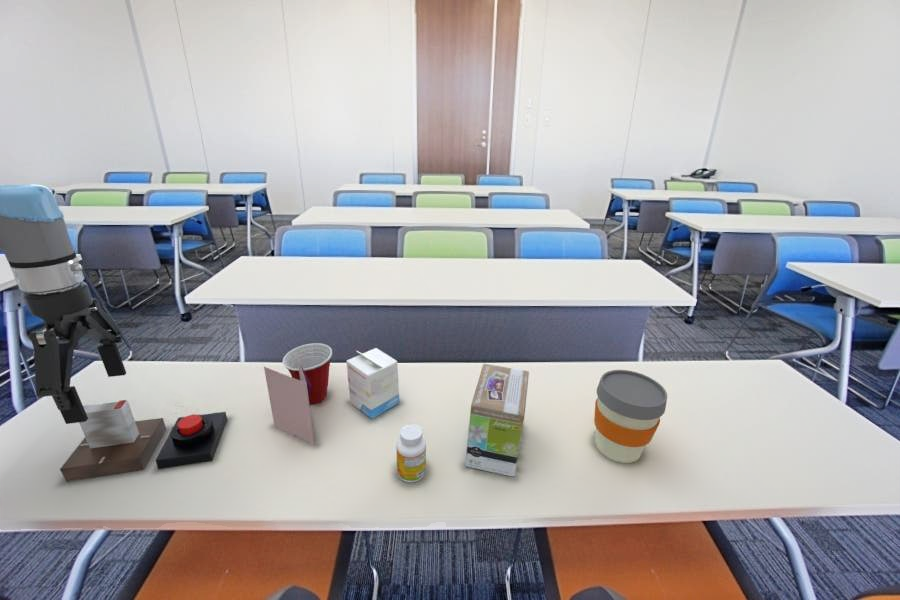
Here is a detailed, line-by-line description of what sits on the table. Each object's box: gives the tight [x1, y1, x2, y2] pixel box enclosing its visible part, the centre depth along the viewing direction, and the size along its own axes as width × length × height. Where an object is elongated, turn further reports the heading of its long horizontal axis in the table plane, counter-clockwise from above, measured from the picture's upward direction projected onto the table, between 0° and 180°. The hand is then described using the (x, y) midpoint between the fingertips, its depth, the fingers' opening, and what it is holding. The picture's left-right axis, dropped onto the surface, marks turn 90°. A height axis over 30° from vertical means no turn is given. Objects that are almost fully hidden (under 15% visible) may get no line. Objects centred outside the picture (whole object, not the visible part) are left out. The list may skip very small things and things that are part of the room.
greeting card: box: [263, 356, 315, 446], centre depth 81 cm, size 11×7×15 cm, turn 28°
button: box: [178, 414, 203, 435], centre depth 78 cm, size 4×4×2 cm
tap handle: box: [78, 399, 139, 448], centre depth 74 cm, size 7×2×8 cm, turn 105°
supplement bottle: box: [395, 423, 427, 483], centre depth 73 cm, size 5×5×10 cm
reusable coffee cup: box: [593, 369, 668, 464], centre depth 80 cm, size 13×13×15 cm
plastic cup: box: [282, 342, 333, 406], centre depth 92 cm, size 11×11×12 cm
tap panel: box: [59, 417, 167, 482], centre depth 76 cm, size 12×11×3 cm
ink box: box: [346, 347, 400, 420], centre depth 90 cm, size 9×8×13 cm
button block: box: [155, 411, 228, 470], centre depth 79 cm, size 9×12×4 cm
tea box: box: [464, 363, 530, 478], centre depth 79 cm, size 15×10×15 cm, turn 167°
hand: (99, 396), depth 71 cm, fingers open, 13 cm apart
